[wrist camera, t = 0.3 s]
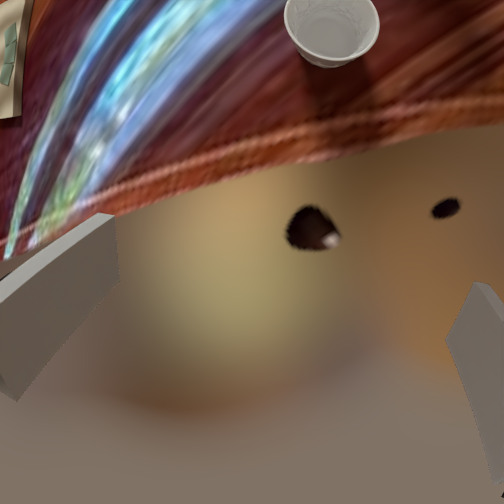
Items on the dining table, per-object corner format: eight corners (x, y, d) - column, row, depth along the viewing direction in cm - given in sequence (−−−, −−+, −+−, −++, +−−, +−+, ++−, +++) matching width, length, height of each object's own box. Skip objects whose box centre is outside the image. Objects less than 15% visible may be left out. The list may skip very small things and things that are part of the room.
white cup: (317, 85, 31) (322, 77, 23) (276, 32, 29) (264, 6, 20) (374, 53, 28) (397, 36, 20) (332, -1, 26) (340, -34, 18)
